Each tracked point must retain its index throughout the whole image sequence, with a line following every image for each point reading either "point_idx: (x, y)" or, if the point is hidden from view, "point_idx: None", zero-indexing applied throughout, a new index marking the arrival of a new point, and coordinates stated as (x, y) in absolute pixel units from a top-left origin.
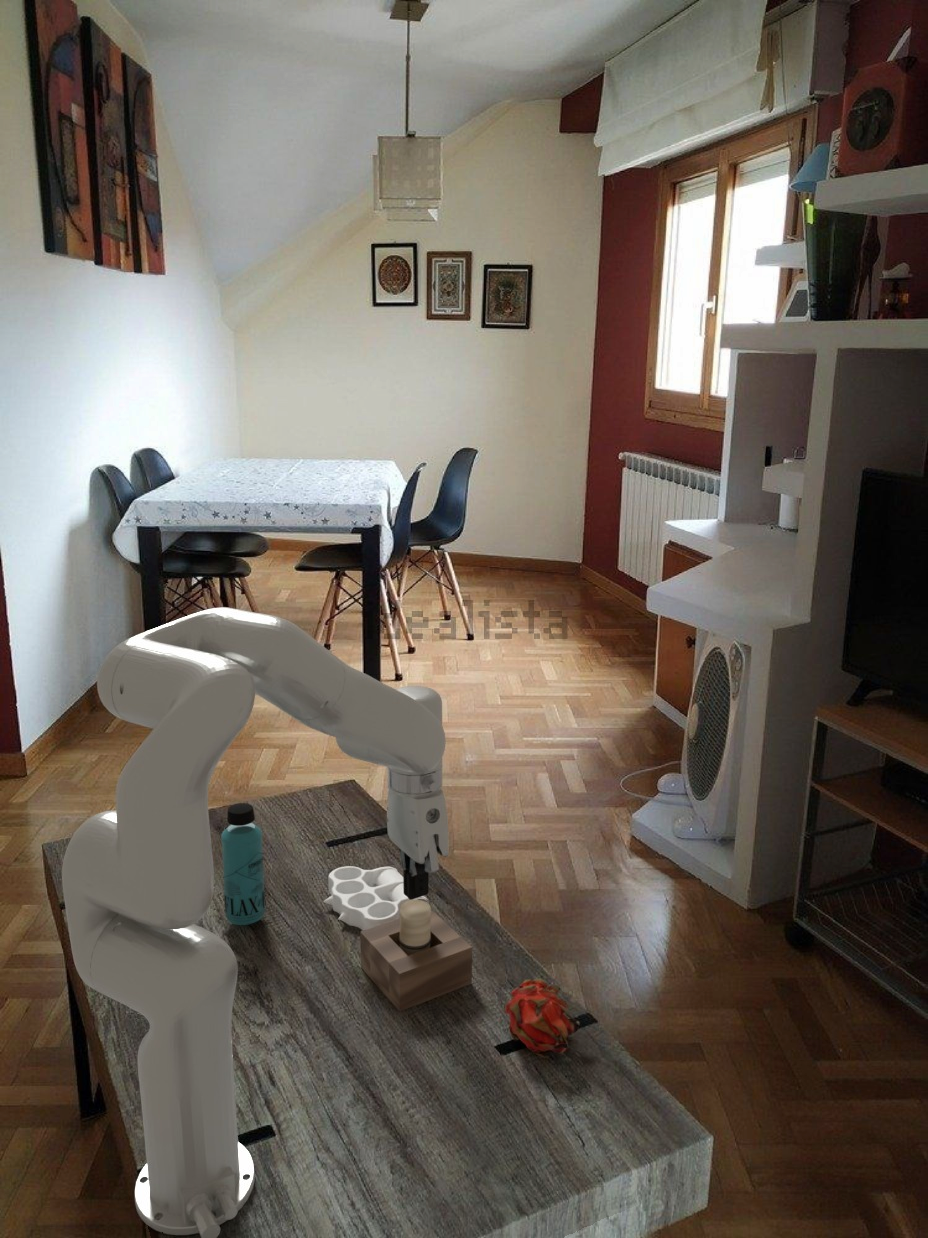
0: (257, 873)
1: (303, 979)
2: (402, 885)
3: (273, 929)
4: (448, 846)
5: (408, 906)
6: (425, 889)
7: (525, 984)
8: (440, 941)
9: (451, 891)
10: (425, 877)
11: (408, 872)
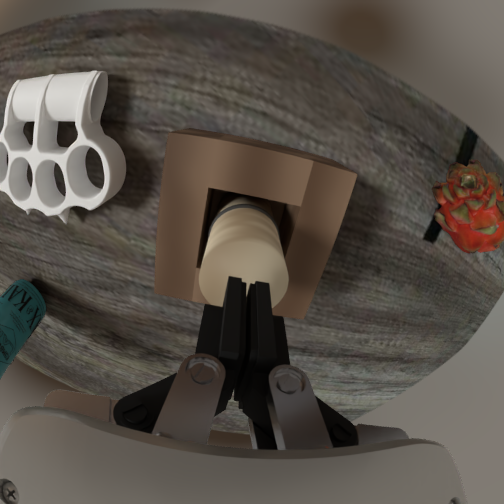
0: (8, 337)
1: (153, 315)
2: (49, 96)
3: (52, 280)
4: (463, 489)
5: (222, 289)
6: (283, 322)
7: (476, 211)
8: (288, 203)
9: (102, 15)
10: (288, 361)
11: (229, 398)
